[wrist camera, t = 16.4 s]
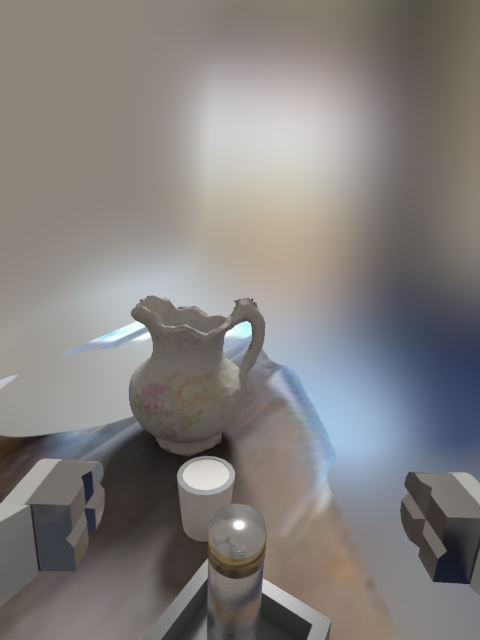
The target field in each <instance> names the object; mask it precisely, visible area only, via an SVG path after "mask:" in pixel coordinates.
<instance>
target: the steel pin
mask: <svg viewBox="0 0 480 640" xmlns="http://www.w3.org/2000/svg"><path fill="white" fill-rule="evenodd" d="M265 550H266V523H265V520H264V518H263V516H262V515H261V514H260V513H259V512H258V511H257V510H256V509H254V508H253V507H250V506H248V505H245V504H229V505H225V506H223V507H221V508H219V509H218V510H217V511H215V512H214V514H213V515H212V517H211V518H210V521H209V529H208V552H207V553H208V595H207V640H259V628H260V613H261V598H262V583H263V569H264V559H265Z"/></svg>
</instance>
